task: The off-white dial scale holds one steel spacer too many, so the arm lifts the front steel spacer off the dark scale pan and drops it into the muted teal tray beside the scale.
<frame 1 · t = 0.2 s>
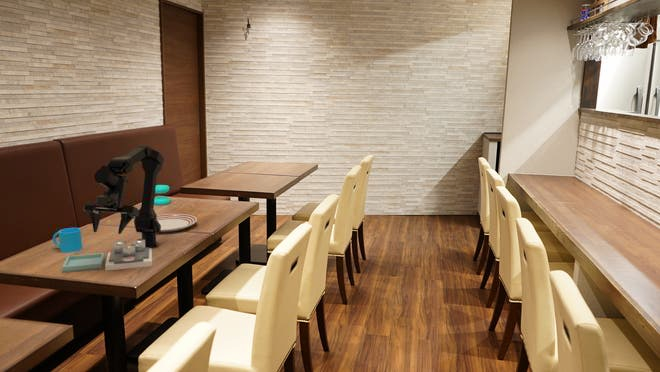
hand: (107, 233, 192), 14 cm above the table, tool tilted 25°, fingers open, 9 cm apart
spacer a: (120, 251, 206), point 3 cm above the table, touching scale
spacer b: (139, 250, 208), point 3 cm above the table, touching scale
mug: (67, 249, 218), on the table
dinner plate: (167, 227, 253), on the table
scale: (130, 261, 204), on the table
donuts: (161, 203, 302), on the table
spacer c: (129, 255, 202), point 3 cm above the table, touching scale
tray: (84, 264, 200), on the table
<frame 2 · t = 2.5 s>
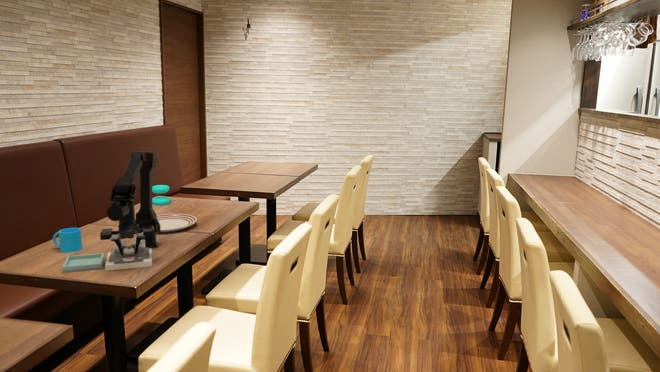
hand: (129, 254, 202), 3 cm above the table, tool pointing down, fingers closed on spacer c, 4 cm apart
spacer c: (129, 255, 202), point 3 cm above the table, touching gripper, scale
everything else where it was.
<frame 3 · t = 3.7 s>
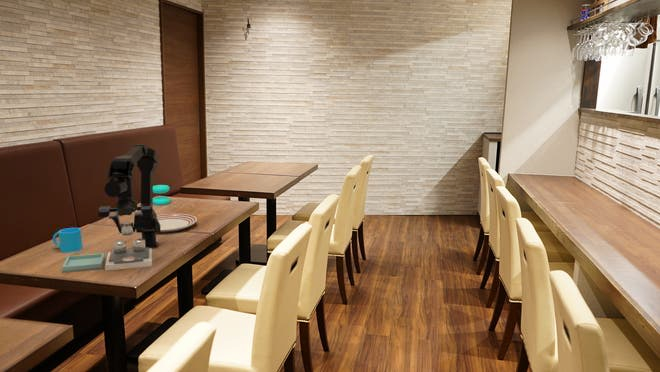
hand: (127, 232, 200), 12 cm above the table, tool pointing down, fingers closed on spacer c, 4 cm apart
spacer c: (127, 233, 200), point 11 cm above the table, touching gripper
everything else where it was.
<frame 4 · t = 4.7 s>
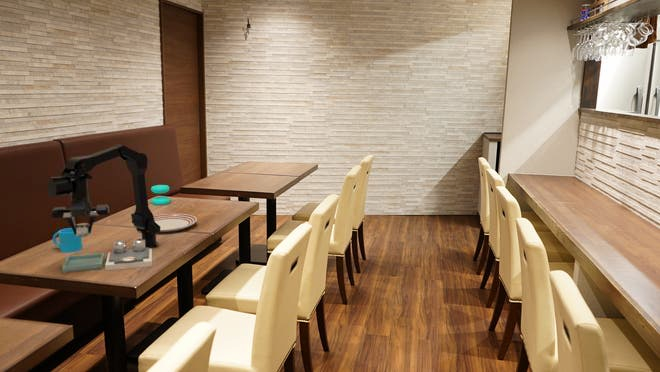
hand: (82, 233, 197), 12 cm above the table, tool pointing down, fingers closed on spacer c, 4 cm apart
spacer c: (82, 235, 197), point 12 cm above the table, touching gripper
everything else where it was.
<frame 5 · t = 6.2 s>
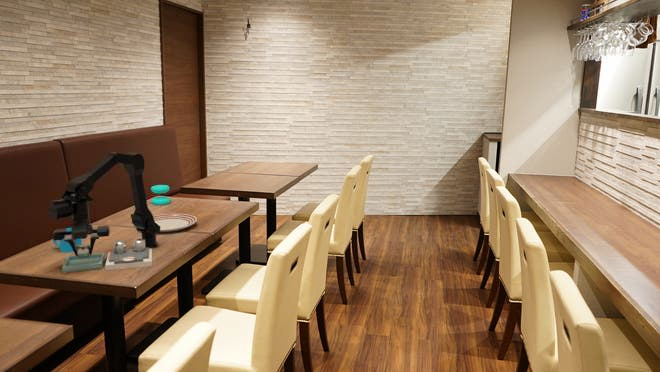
hand: (83, 255, 199), 4 cm above the table, tool pointing down, fingers closed on spacer c, 4 cm apart
spacer c: (84, 256, 199), point 3 cm above the table, touching gripper
everything else where it was.
when the fingers open (3 cm above the table, at t = 7.2 s): spacer c drops 2 cm, resting on tray.
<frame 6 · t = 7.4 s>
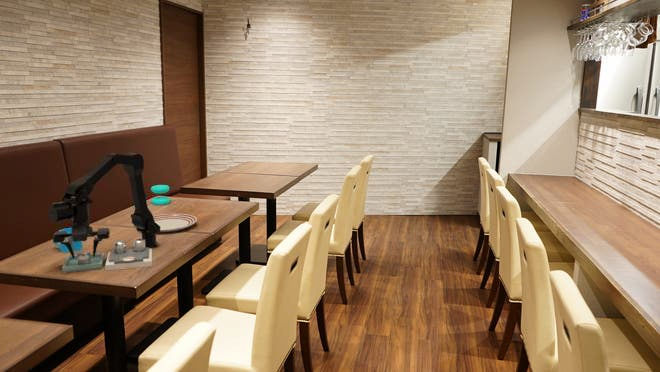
hand: (84, 257, 199), 3 cm above the table, tool pointing down, fingers open, 7 cm apart
spacer c: (84, 263, 199), point 1 cm above the table, touching tray
everything else where it was.
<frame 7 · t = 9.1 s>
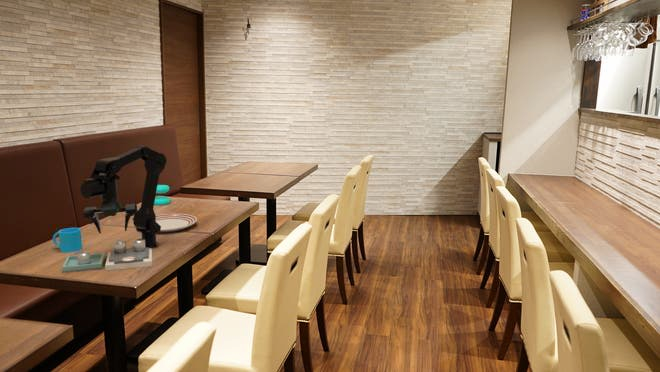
hand: (113, 232, 205), 11 cm above the table, tool pointing down, fingers open, 9 cm apart
nothing on the table moved.
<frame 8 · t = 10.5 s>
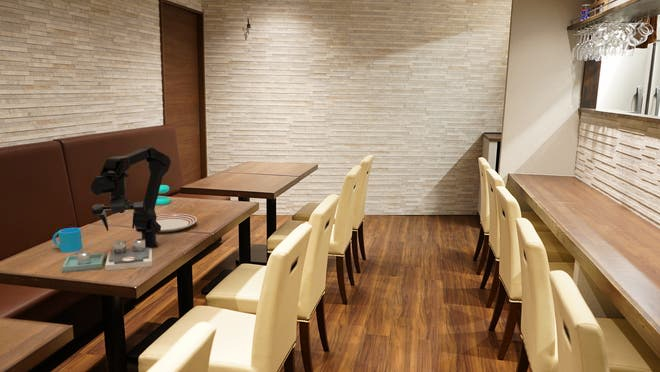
hand: (120, 229, 207), 11 cm above the table, tool pointing down, fingers open, 9 cm apart
nothing on the table moved.
at the end: spacer c inside the target area on the tray (0.1 cm from its centre), point 0.6 cm above the tray's base; spacer a moved 0.1 cm from its start; spacer b moved 0.1 cm from its start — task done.
